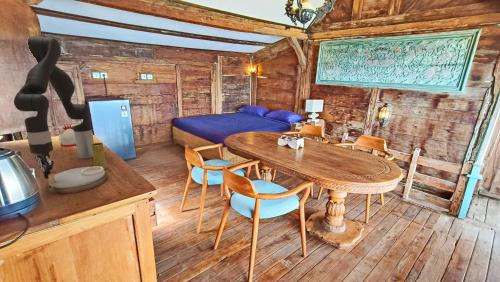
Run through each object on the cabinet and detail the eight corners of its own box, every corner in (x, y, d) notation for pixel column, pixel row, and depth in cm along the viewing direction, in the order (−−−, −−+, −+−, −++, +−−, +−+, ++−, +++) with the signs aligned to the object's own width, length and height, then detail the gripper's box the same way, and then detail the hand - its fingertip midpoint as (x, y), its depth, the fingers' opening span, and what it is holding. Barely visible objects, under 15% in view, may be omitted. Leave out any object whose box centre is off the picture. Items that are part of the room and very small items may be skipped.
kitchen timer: (65, 142, 178) (61, 123, 174) (86, 141, 182) (83, 122, 178) (57, 147, 165) (52, 126, 161) (79, 146, 169) (76, 126, 165)
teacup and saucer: (67, 137, 192) (67, 133, 191) (70, 139, 187) (69, 134, 186) (54, 139, 185) (53, 134, 184) (57, 141, 180) (56, 136, 179)
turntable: (47, 177, 113) (44, 166, 112) (99, 166, 128) (97, 156, 127) (51, 193, 98) (48, 181, 97) (110, 179, 113) (108, 168, 111)
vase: (91, 169, 129) (87, 144, 125) (101, 165, 134) (97, 142, 130) (100, 171, 127) (96, 146, 123) (109, 167, 132) (106, 143, 129)
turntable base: (37, 185, 109) (36, 179, 109) (92, 169, 129) (91, 163, 129) (61, 199, 98) (60, 192, 97) (117, 179, 118) (116, 173, 117)
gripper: (22, 140, 100) (31, 177, 105) (35, 146, 94) (43, 185, 99) (44, 136, 107) (51, 171, 111) (57, 142, 100) (64, 178, 105)
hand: (47, 177), depth 105 cm, fingers closed
